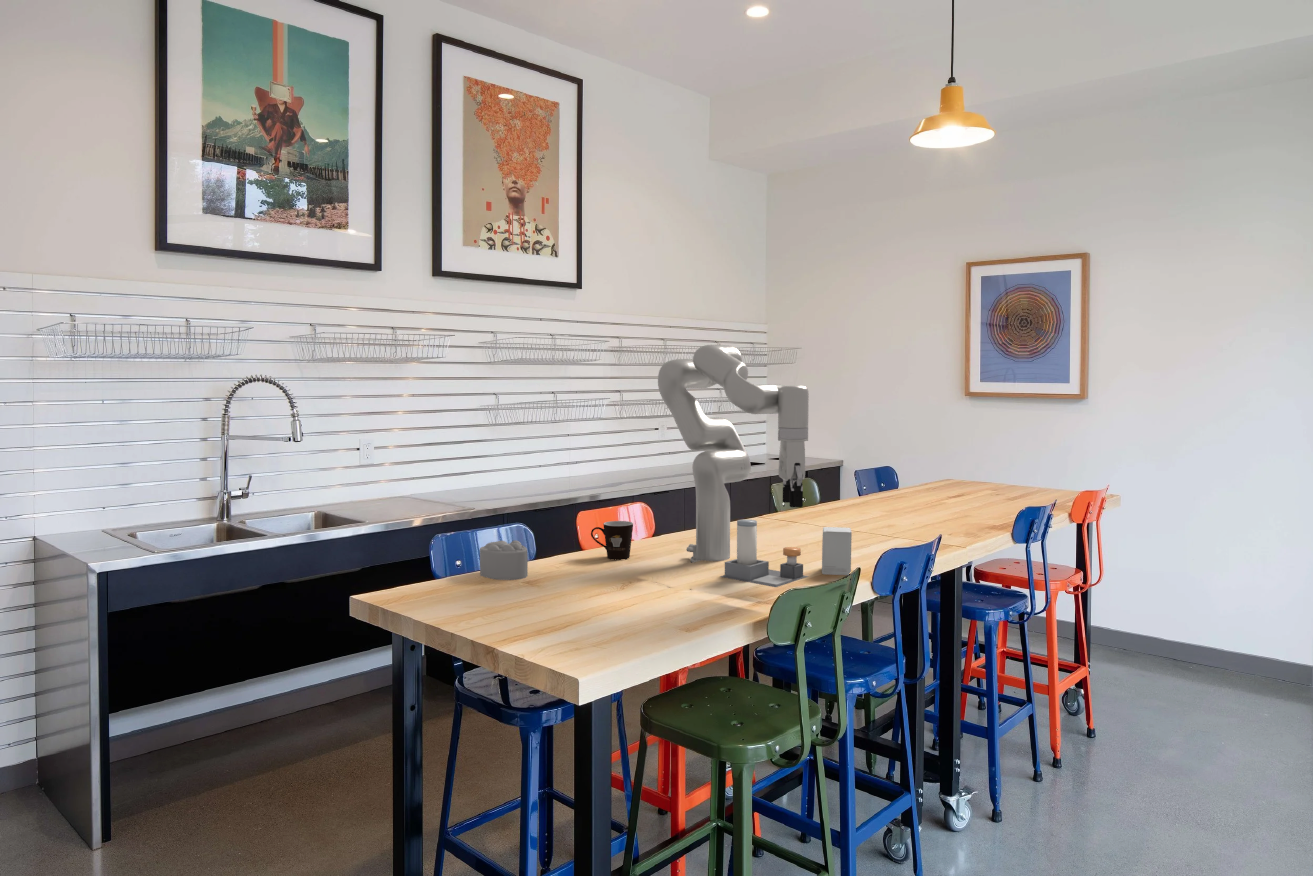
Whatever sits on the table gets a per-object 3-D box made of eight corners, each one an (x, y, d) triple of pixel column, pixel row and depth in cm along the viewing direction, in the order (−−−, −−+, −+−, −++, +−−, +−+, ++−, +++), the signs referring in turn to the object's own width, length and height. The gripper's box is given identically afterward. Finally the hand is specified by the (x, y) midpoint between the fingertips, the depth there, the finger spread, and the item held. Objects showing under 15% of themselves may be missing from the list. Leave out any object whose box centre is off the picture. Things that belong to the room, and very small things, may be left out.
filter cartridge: (732, 575, 219) (733, 521, 218) (744, 572, 223) (744, 518, 222) (749, 578, 216) (749, 523, 215) (760, 575, 219) (760, 520, 218)
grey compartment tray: (719, 582, 218) (719, 562, 218) (753, 572, 229) (753, 553, 229) (775, 593, 207) (776, 572, 207) (808, 582, 218) (808, 562, 218)
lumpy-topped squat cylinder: (505, 568, 235) (505, 536, 234) (537, 575, 226) (537, 542, 226) (474, 575, 227) (474, 542, 226) (506, 582, 218) (506, 548, 218)
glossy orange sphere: (779, 566, 218) (779, 548, 218) (789, 563, 221) (789, 546, 221) (794, 568, 215) (794, 551, 215) (803, 566, 218) (804, 548, 218)
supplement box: (851, 581, 219) (851, 532, 218) (821, 579, 221) (822, 531, 220) (850, 574, 226) (851, 527, 226) (821, 573, 228) (822, 526, 227)
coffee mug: (639, 556, 249) (639, 522, 249) (622, 562, 242) (622, 527, 241) (606, 552, 255) (606, 519, 255) (589, 557, 248) (588, 523, 248)
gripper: (771, 432, 224) (770, 500, 226) (785, 437, 207) (785, 510, 208) (799, 432, 225) (799, 499, 226) (816, 437, 208) (815, 509, 209)
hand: (792, 504), depth 217 cm, fingers open, 7 cm apart
